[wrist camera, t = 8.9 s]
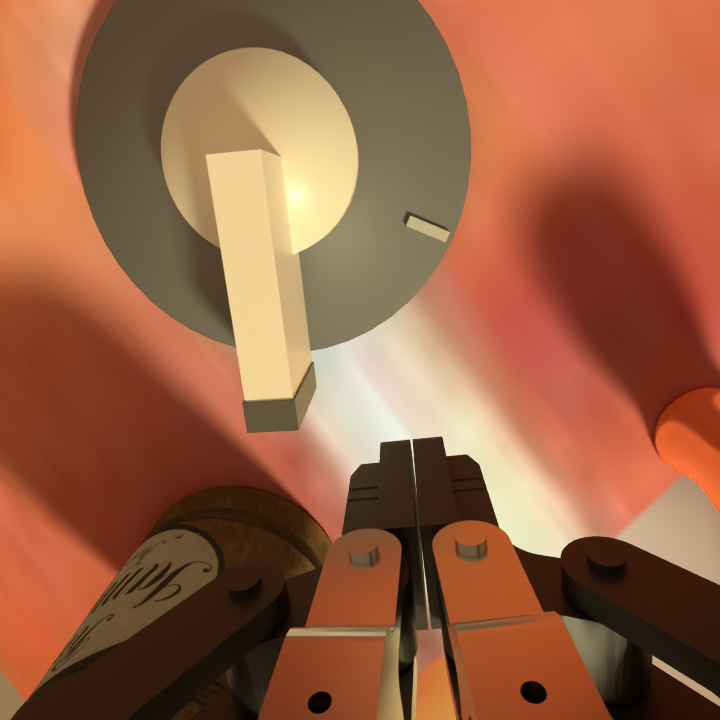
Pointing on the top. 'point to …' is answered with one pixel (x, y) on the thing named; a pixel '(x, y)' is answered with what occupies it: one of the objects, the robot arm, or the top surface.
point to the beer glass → (693, 439)
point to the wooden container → (189, 572)
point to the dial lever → (262, 205)
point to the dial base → (368, 115)
